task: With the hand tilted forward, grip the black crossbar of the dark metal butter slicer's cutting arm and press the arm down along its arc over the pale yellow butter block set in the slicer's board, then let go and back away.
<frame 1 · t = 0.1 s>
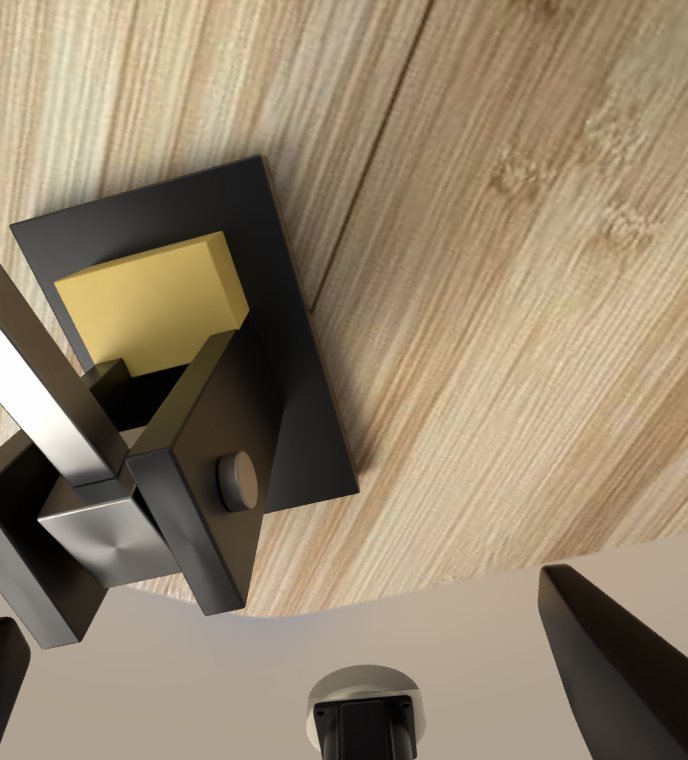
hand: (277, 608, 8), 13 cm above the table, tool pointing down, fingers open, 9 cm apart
slicer: (213, 364, 20), on the table
butter: (174, 297, 18), resting on slicer
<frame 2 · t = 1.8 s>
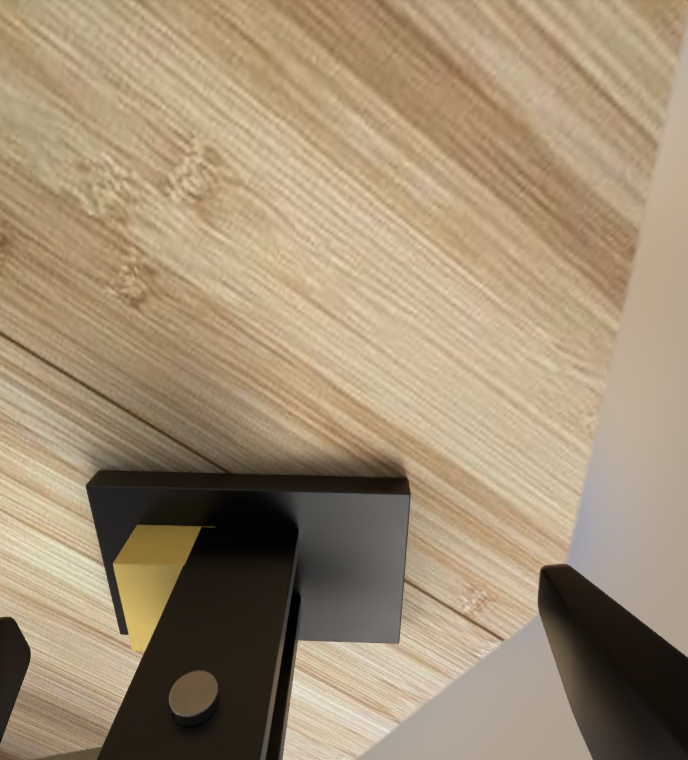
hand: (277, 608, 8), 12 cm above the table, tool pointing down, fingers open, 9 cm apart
slicer: (258, 551, 24), on the table
butter: (183, 568, 23), resting on slicer
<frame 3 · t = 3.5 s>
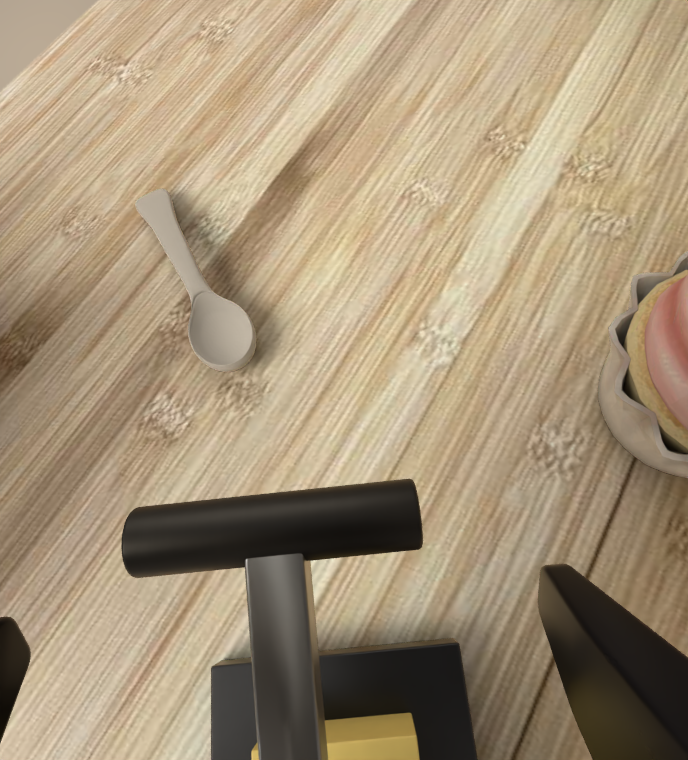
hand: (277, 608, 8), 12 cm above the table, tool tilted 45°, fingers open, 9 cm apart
cupcake: (668, 408, 21), on the table
spoon: (197, 284, 25), on the table
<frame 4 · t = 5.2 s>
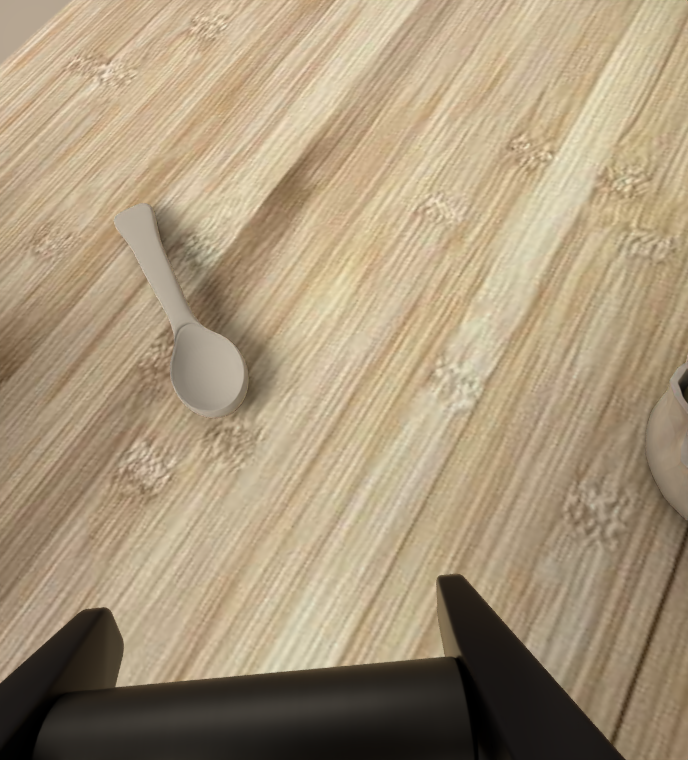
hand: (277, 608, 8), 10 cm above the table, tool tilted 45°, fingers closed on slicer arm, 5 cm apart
spoon: (182, 312, 22), on the table
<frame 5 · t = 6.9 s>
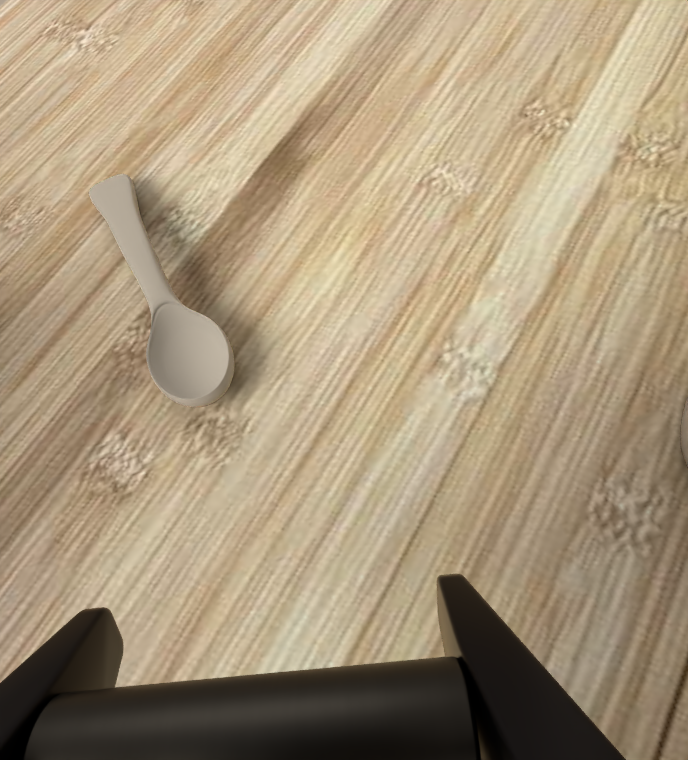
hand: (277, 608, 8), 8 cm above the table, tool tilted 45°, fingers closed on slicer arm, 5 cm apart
spoon: (163, 292, 20), on the table
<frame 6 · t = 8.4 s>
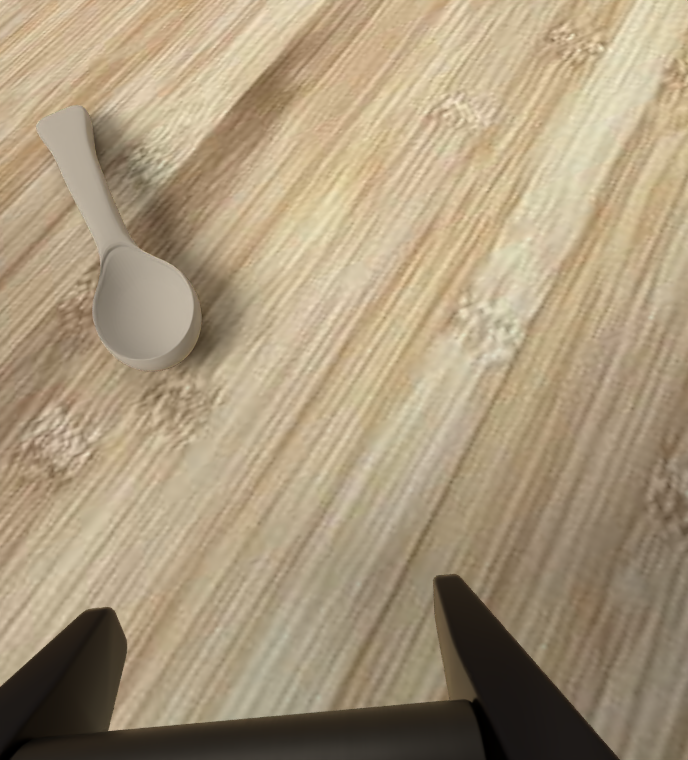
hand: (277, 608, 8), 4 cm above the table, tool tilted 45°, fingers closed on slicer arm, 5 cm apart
spoon: (122, 240, 17), on the table
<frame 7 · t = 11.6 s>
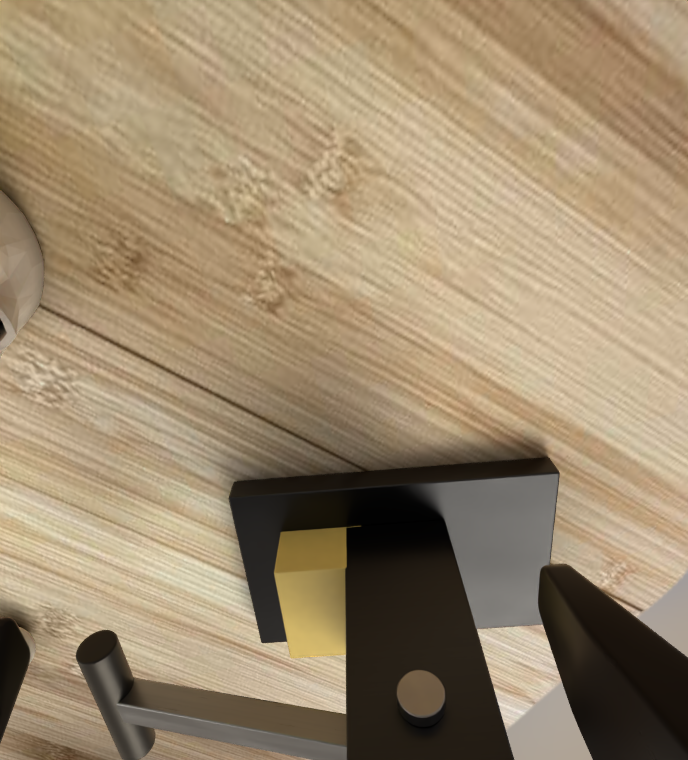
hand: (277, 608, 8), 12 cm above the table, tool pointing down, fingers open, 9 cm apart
slicer: (394, 547, 24), on the table
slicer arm: (269, 725, 16), point 8 cm above the table, hinge at -12.8°
butter: (327, 571, 23), resting on slicer
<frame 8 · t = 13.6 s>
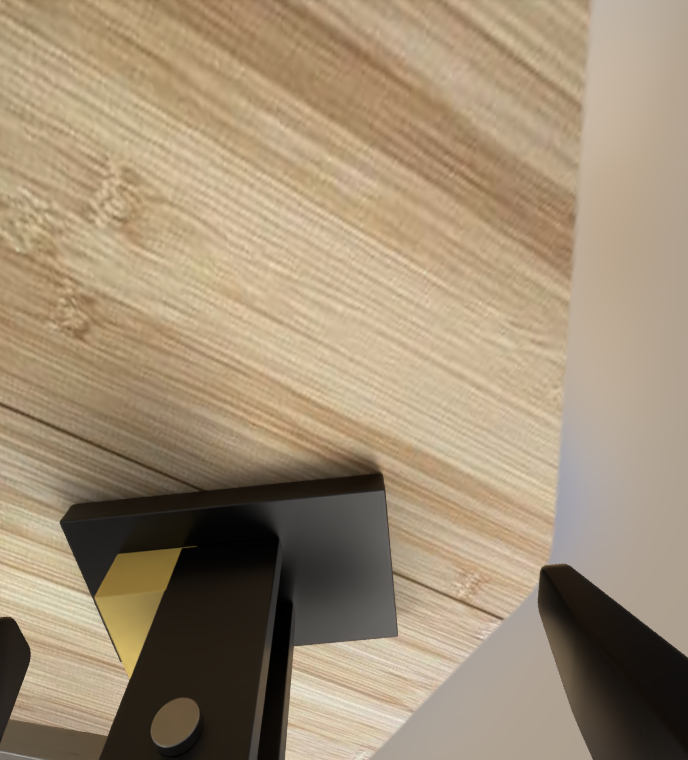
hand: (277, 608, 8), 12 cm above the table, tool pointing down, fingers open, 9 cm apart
slicer: (245, 564, 24), on the table
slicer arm: (61, 753, 17), point 8 cm above the table, hinge at -12.8°
butter: (171, 590, 23), resting on slicer
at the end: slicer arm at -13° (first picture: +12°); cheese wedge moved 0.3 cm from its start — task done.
